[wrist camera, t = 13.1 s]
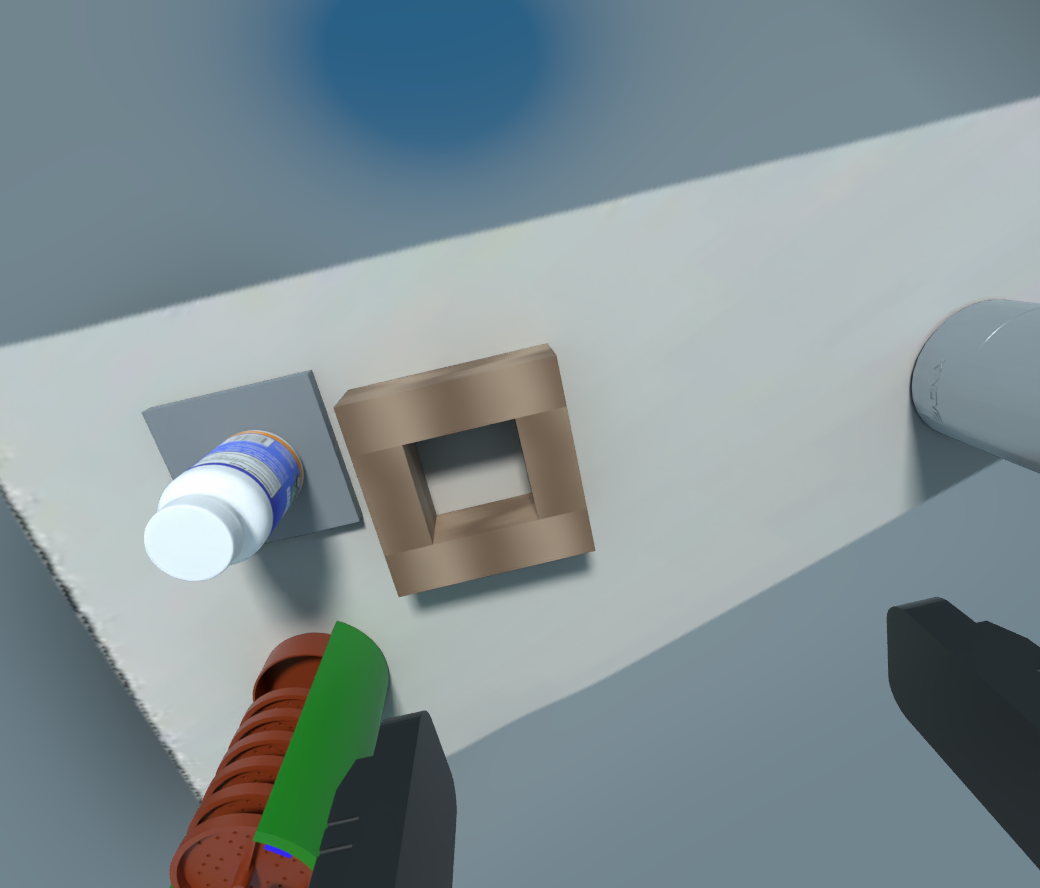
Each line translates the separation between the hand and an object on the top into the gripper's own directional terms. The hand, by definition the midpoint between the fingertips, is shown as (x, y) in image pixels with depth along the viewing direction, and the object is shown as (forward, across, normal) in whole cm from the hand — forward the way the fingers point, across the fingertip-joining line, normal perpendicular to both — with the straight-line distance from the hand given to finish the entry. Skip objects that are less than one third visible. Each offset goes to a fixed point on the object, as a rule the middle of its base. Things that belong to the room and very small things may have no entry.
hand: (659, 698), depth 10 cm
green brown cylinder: (+28, +20, +19) cm, 39 cm away
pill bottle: (+26, +18, +2) cm, 32 cm away
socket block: (+28, +6, +5) cm, 29 cm away
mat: (+27, +18, +2) cm, 33 cm away
